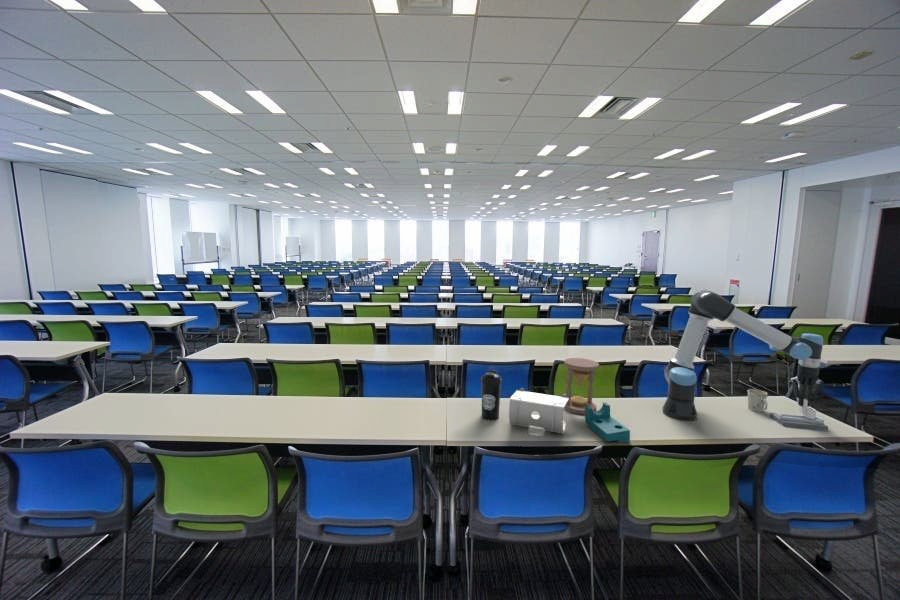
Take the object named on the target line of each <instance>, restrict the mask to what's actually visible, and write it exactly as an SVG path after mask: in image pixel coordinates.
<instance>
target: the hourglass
mask: <svg viewBox="0 0 900 600" xmlns="http://www.w3.org/2000/svg"><path fill="white" fill-rule="evenodd" d="M563 365H564V367H566V368H567V373H566V374H567V375H566V385H567V387H566V389H565V394H566V397H567V398H569V400H568V402H567V403H566V405H565V407H564V411H567V412H570V413H573V414H577V415H585V405H588V406H590V407H591V408H592V411H593V412H597V405H596V404H595V403H594V402H593V393H594V386H593V383H594V380H595V374H594V372H595V371H597V370H599V368H600V364H599V362H597V361H595V360H592V359H587V358H581V357H580V358H579V357H570V358H566V359H564V361H563ZM573 377H574V379H575V380H576V382H577V383H578V387H582V386H583V383H585V381H586V380H588V385H587V390H586V391H587V394H586V395H587V398H586V397H583V396H581V395H575V396H572V394H573V392H572V382H573Z"/></svg>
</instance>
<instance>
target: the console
mask: <svg viewBox="0 0 900 600" xmlns="http://www.w3.org/2000/svg"><path fill="white" fill-rule="evenodd" d="M769 417H770V418H771V419H773V420H774V421H775V422H776V423H778V424H780V425H781V426H783V427H791V428H800V429H801V428H802V429H811V430H818V431H819V430H820V431H828V430H829V425H826V424H825V419H823V418H822V417H820V416H818V415H816V416H815V419H805V418H803V415H801V414H800V415H799V414H792V413H783V412H782V413H781V412H778V411H773V412H770V413H769Z"/></svg>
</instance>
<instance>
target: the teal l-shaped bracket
mask: <svg viewBox="0 0 900 600" xmlns="http://www.w3.org/2000/svg"><path fill="white" fill-rule="evenodd" d="M584 415H585V416H584V420H585V422H584V424H585V425H587V426H588V427H589V428H590V429H591V430H593V431H594V432H595V433H596V434H598V436H600V437H601V438H603V440H605V441H606V442H614V441H616V442H617V443H620V444H621V443H627V442H630V441H631V430H630V429H629V428H627V427H626V425H623V424H622V423H621V422H620V421H618V420H617V419H615V418H614V417H612V416H611V405H610V404H609V403H608V402H607V401H606V402H602V406H601V408H600V409H599V410H596V412H593V411H592V408H591V407H590V406H588V405H585V414H584Z"/></svg>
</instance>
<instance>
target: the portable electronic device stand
mask: <svg viewBox="0 0 900 600" xmlns="http://www.w3.org/2000/svg"><path fill="white" fill-rule="evenodd" d="M568 400H569V398H567V397H566V393H562V396H559V395H553V394H545V393H540V392H539V393H538V392H534V391H533V392H531V391H525V388H524V387H520V388H519V390H518V389H517V390H516V391H515V392H514V393H513V394H512V395H511V396H510V399H509V406H508V407H509V410H508V411H509V412H508V413H509V415H508V419H509V421H508V422H509V425H514V426H520V427H523V428H528V430H527V435H529V434H530V435H529V436H533V435H536V436H535V437H538V436H541V438H542V436H543V437H544V435H545V433H546V431H547V432H552V433H553V432H554V433H556V434H557V433H558V434H565V433H566V427H567V422H566V421H564V415H565V414H564V412H565V409H564V407H565V405H566V403H567V402H568ZM534 412H535V413H536V412H537V413H538V415H536V414H533V413H534Z"/></svg>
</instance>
